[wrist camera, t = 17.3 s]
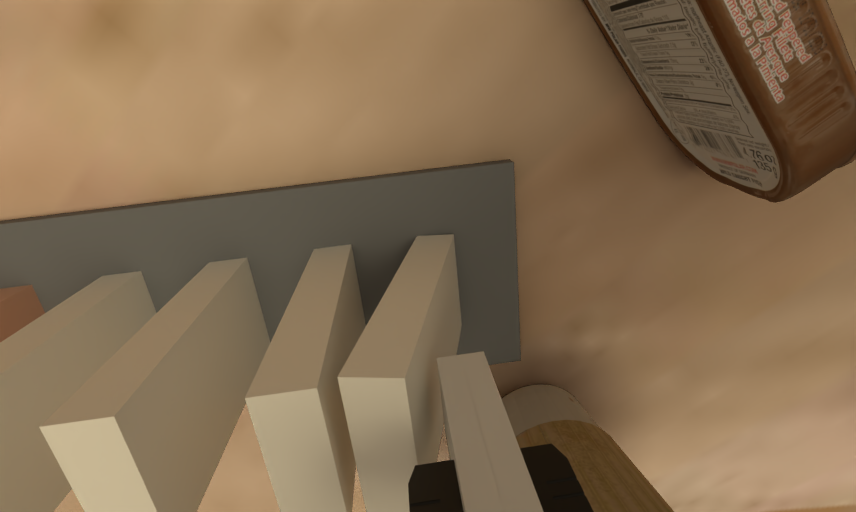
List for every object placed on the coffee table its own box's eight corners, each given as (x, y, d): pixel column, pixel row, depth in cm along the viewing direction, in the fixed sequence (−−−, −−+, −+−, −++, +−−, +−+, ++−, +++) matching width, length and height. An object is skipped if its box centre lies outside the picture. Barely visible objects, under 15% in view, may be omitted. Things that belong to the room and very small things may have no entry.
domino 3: (351, 244, 21) (316, 387, 11) (367, 333, 23) (350, 528, 13) (314, 248, 21) (244, 398, 11) (332, 338, 23) (288, 537, 13)
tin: (736, 147, 22) (927, 179, 14) (682, 188, 23) (838, 241, 15) (572, -147, 17) (725, -341, 10) (509, -85, 18) (604, -221, 10)
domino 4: (453, 234, 21) (404, 378, 11) (461, 325, 23) (425, 520, 13) (417, 235, 21) (337, 376, 11) (427, 325, 23) (367, 515, 13)
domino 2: (247, 257, 21) (113, 416, 11) (271, 346, 23) (176, 554, 13) (209, 262, 21) (38, 427, 11) (236, 351, 23) (112, 564, 13)
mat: (509, 159, 21) (514, 162, 21) (516, 352, 25) (520, 360, 25) (-47, 226, 20) (-64, 232, 20) (51, 417, 24) (41, 427, 24)
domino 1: (140, 270, 21) (-97, 445, 11) (173, 359, 23) (-3, 582, 12) (102, 276, 21) (-175, 456, 11) (138, 364, 23) (-69, 592, 12)
